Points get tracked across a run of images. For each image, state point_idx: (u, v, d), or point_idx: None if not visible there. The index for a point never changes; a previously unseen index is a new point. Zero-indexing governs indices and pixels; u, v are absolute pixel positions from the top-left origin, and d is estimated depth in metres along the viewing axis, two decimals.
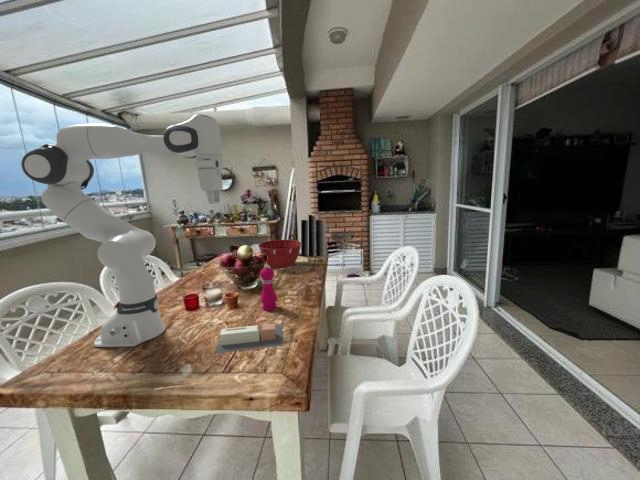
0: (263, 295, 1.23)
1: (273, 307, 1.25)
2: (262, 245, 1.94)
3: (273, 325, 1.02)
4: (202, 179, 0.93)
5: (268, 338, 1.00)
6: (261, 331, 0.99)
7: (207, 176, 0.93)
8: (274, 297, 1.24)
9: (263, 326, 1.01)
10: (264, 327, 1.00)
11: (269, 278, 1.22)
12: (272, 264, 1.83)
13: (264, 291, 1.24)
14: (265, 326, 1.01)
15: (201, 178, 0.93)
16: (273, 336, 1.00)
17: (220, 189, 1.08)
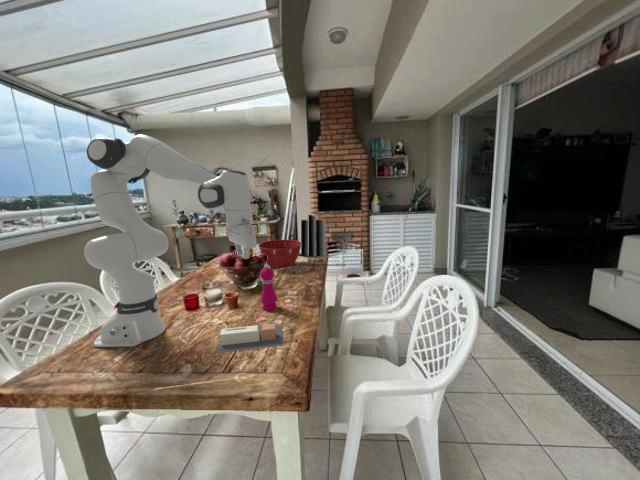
0: (263, 295, 1.23)
1: (273, 307, 1.25)
2: (262, 245, 1.94)
3: (273, 325, 1.02)
4: None
5: (268, 338, 1.00)
6: (261, 331, 0.99)
7: None
8: (274, 297, 1.24)
9: (263, 326, 1.01)
10: (264, 327, 1.00)
11: (269, 278, 1.22)
12: (272, 264, 1.83)
13: (264, 291, 1.24)
14: (265, 326, 1.01)
15: None
16: (273, 336, 1.00)
17: None
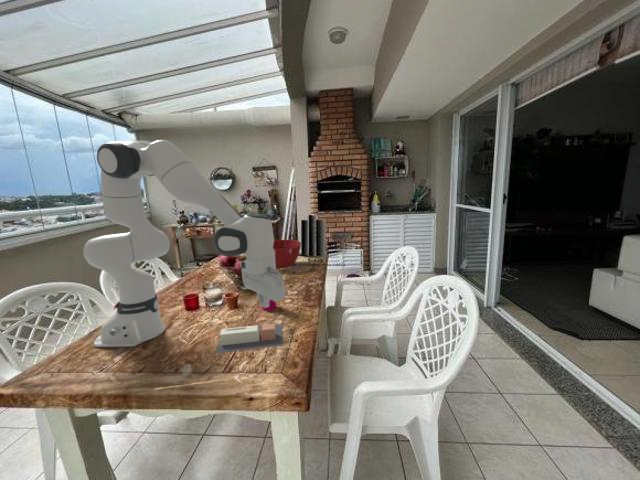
0: None
1: (273, 307, 1.25)
2: None
3: (273, 325, 1.02)
4: None
5: (268, 338, 1.00)
6: (261, 331, 0.99)
7: None
8: None
9: (263, 326, 1.01)
10: (264, 327, 1.00)
11: None
12: None
13: None
14: (265, 326, 1.01)
15: None
16: (273, 336, 1.00)
17: (267, 297, 0.87)
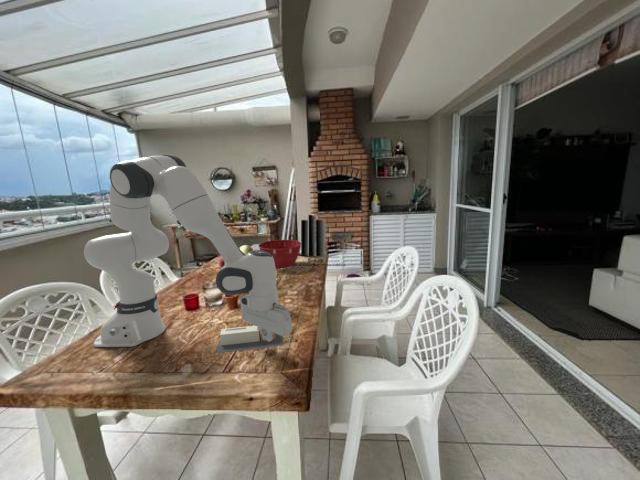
0: None
1: None
2: (262, 245, 1.94)
3: None
4: None
5: None
6: None
7: None
8: None
9: None
10: None
11: None
12: None
13: None
14: None
15: None
16: (273, 336, 1.00)
17: (273, 332, 0.89)
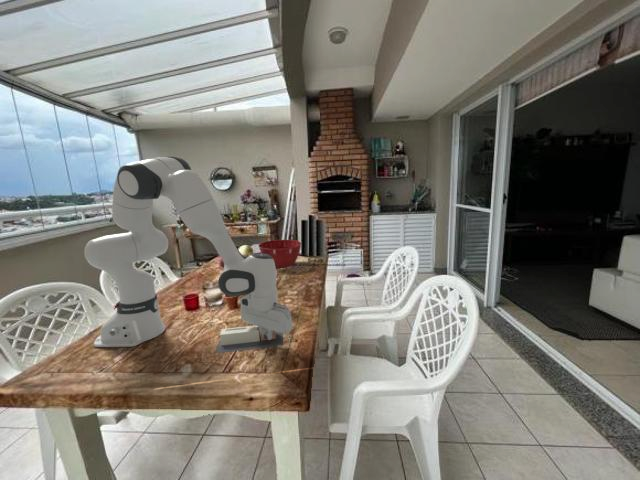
0: None
1: None
2: (262, 245, 1.94)
3: None
4: None
5: None
6: None
7: None
8: None
9: None
10: None
11: None
12: None
13: None
14: None
15: None
16: (273, 336, 1.00)
17: None
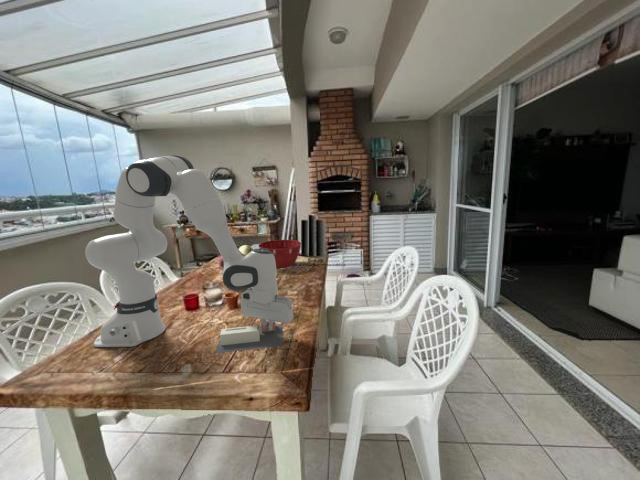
0: None
1: None
2: (262, 245, 1.94)
3: None
4: None
5: None
6: None
7: None
8: None
9: None
10: None
11: None
12: None
13: None
14: None
15: None
16: (273, 328, 1.06)
17: (276, 321, 0.99)
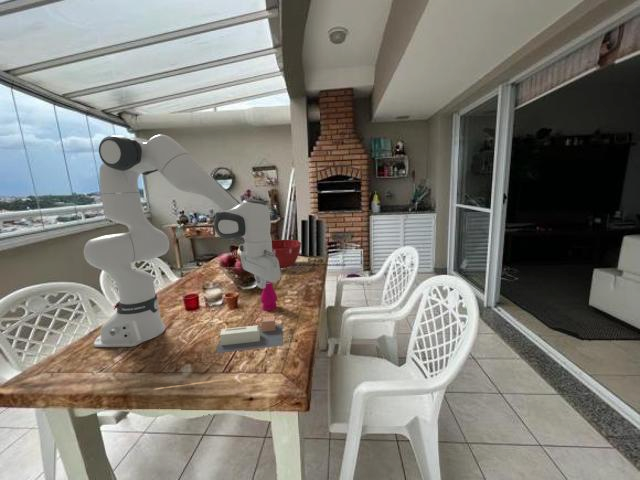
0: (263, 295, 1.23)
1: (273, 307, 1.25)
2: None
3: (273, 317, 1.08)
4: None
5: (268, 329, 1.06)
6: (262, 323, 1.05)
7: None
8: (274, 297, 1.24)
9: (264, 318, 1.07)
10: (264, 319, 1.06)
11: None
12: None
13: (264, 291, 1.24)
14: (265, 318, 1.07)
15: None
16: (273, 328, 1.06)
17: (263, 278, 0.92)
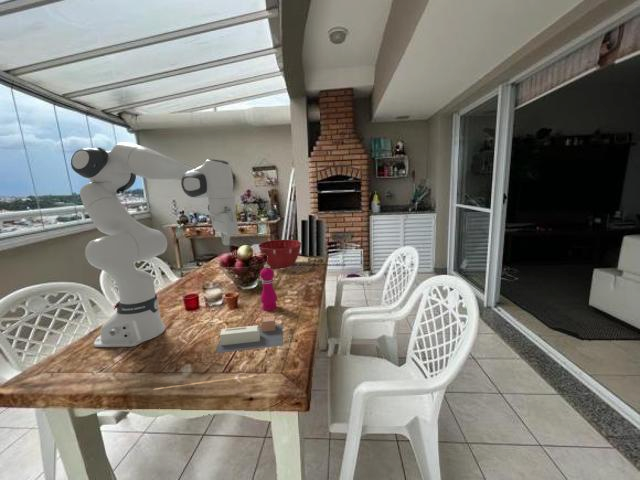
0: (263, 295, 1.23)
1: (273, 307, 1.25)
2: (262, 245, 1.94)
3: (273, 317, 1.08)
4: None
5: (268, 329, 1.06)
6: (262, 323, 1.05)
7: None
8: (274, 297, 1.24)
9: (264, 318, 1.07)
10: (264, 319, 1.06)
11: (269, 278, 1.22)
12: (272, 264, 1.83)
13: (264, 291, 1.24)
14: (265, 318, 1.07)
15: None
16: (273, 328, 1.06)
17: (224, 233, 0.98)
